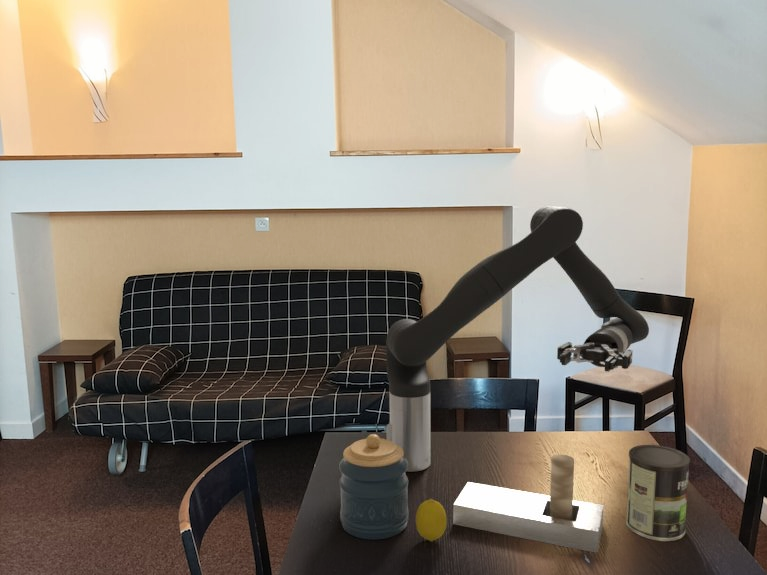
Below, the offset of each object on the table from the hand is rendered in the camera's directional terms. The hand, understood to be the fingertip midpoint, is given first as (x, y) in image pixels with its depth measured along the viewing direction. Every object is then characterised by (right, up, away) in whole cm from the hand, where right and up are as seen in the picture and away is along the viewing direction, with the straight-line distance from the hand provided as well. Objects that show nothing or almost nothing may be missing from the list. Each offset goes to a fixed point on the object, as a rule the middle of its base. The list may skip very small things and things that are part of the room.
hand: (584, 363), depth 129 cm
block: (-13, -30, -6) cm, 33 cm away
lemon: (-31, -31, -11) cm, 45 cm away
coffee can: (+11, -30, -7) cm, 32 cm away
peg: (-7, -30, -8) cm, 32 cm away
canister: (-41, -30, -5) cm, 51 cm away
